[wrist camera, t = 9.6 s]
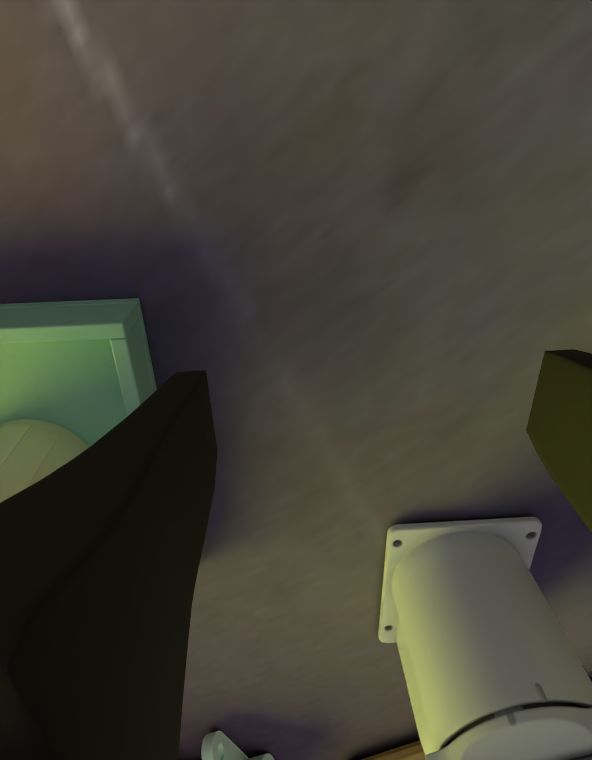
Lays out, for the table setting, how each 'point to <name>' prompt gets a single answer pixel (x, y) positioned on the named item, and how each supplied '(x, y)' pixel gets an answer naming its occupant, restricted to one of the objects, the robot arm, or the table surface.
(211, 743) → the mechanical part
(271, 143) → the table surface
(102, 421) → the tray
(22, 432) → the cup
